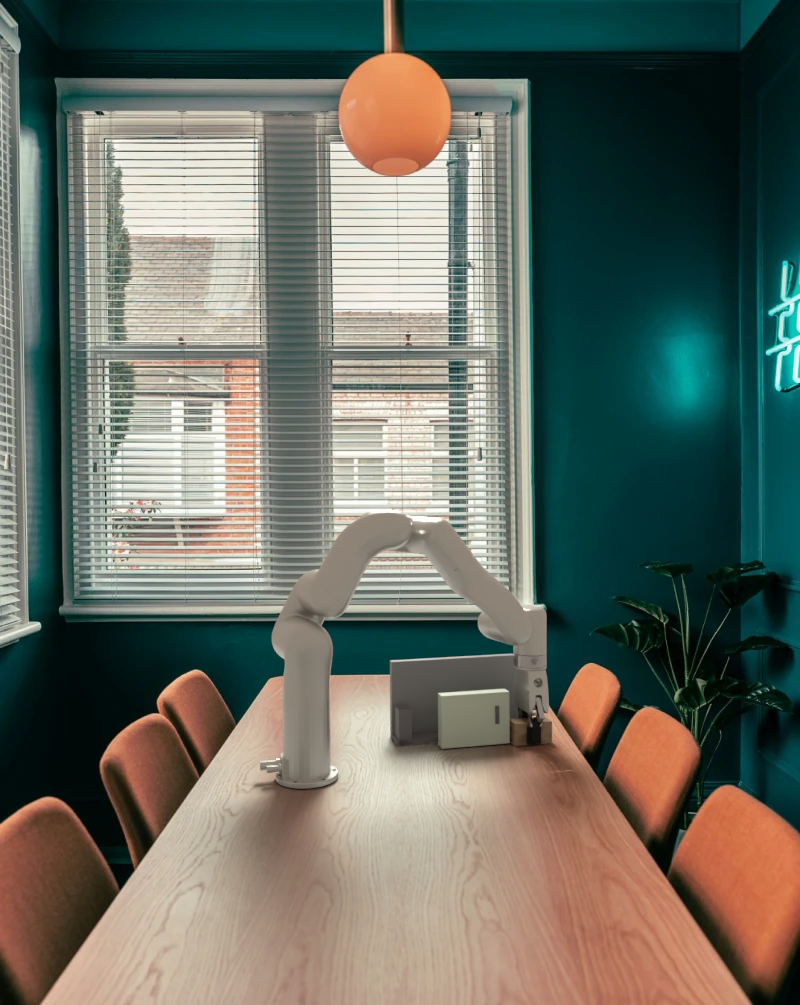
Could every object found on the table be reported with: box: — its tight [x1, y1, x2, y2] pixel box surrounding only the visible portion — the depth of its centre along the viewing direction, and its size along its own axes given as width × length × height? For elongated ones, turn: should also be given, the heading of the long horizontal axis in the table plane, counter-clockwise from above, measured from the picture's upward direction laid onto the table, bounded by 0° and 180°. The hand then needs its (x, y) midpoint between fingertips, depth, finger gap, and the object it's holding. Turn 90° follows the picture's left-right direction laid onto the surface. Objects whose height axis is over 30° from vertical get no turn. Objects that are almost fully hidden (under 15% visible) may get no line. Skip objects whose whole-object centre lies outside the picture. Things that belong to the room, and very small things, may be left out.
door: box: [437, 689, 511, 750], centre depth 174 cm, size 16×3×12 cm, turn 103°
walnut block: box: [509, 716, 553, 747], centre depth 176 cm, size 9×4×5 cm, turn 103°
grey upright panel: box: [389, 653, 519, 747], centre depth 182 cm, size 34×7×18 cm, turn 103°
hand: (529, 740), depth 176 cm, fingers closed on walnut block, 4 cm apart
